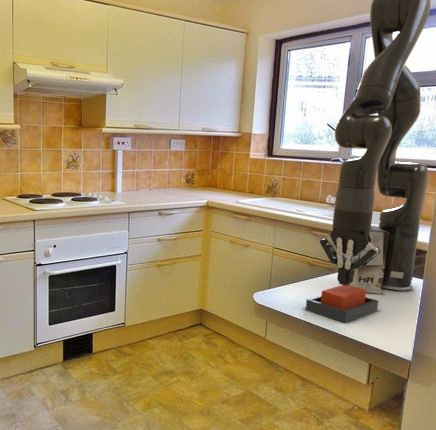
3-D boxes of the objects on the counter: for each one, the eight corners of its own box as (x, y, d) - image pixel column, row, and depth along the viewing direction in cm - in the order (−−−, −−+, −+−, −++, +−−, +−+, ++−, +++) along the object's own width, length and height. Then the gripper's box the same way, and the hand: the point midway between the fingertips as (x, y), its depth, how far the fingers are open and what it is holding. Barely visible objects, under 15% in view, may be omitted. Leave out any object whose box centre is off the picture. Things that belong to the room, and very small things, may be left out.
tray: (338, 298, 111) (339, 289, 111) (377, 310, 104) (378, 300, 104) (305, 309, 103) (306, 299, 103) (345, 322, 96) (346, 312, 96)
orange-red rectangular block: (343, 300, 109) (345, 284, 108) (364, 306, 105) (366, 289, 104) (319, 307, 103) (321, 290, 102) (341, 314, 99) (343, 297, 98)
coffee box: (382, 294, 116) (390, 232, 114) (355, 291, 117) (362, 230, 115) (370, 283, 125) (377, 226, 123) (344, 281, 126) (351, 224, 124)
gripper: (393, 211, 97) (383, 290, 100) (333, 203, 108) (325, 274, 110) (376, 213, 93) (366, 295, 95) (315, 205, 103) (307, 279, 106)
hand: (344, 284), depth 103 cm, fingers closed
